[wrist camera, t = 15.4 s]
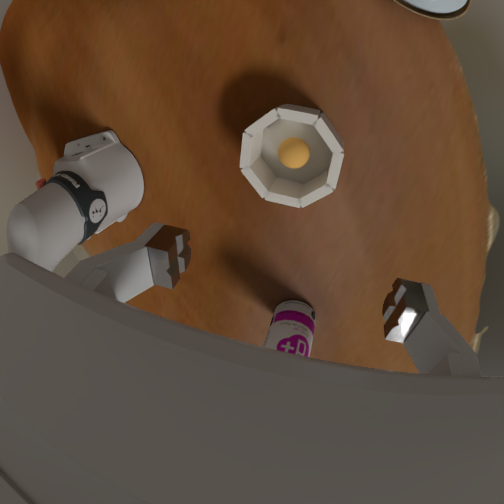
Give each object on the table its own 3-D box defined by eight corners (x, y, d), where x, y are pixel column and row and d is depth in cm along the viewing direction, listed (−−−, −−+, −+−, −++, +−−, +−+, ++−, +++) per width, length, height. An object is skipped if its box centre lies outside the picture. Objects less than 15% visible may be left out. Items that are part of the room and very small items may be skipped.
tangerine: (279, 159, 35) (272, 168, 32) (283, 131, 33) (277, 137, 30) (308, 166, 35) (305, 176, 32) (313, 138, 32) (311, 144, 29)
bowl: (250, 177, 39) (237, 193, 34) (259, 99, 32) (245, 103, 27) (329, 195, 37) (328, 215, 32) (348, 116, 30) (350, 123, 25)
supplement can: (291, 291, 50) (272, 359, 38) (325, 313, 50) (314, 381, 39) (267, 311, 55) (245, 374, 43) (299, 331, 56) (284, 393, 44)
